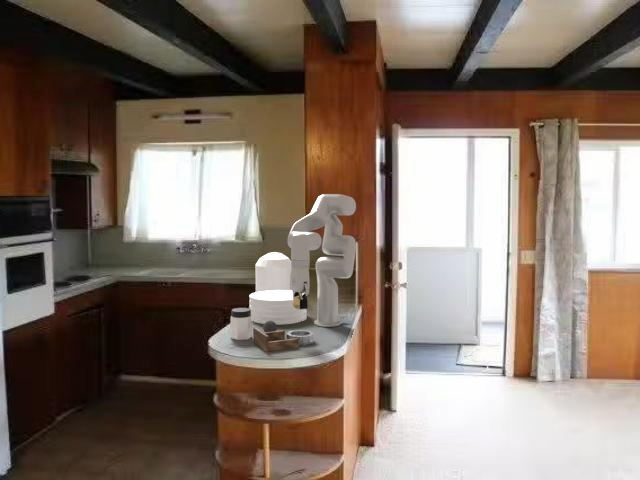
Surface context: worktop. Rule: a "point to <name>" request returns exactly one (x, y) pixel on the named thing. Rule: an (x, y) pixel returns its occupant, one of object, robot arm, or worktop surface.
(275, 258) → the container
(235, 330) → the jar
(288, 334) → the steel race
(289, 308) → the plate stack
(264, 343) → the walnut housing
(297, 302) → the brass ball
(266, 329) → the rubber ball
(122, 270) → the worktop surface
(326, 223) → the robot arm
